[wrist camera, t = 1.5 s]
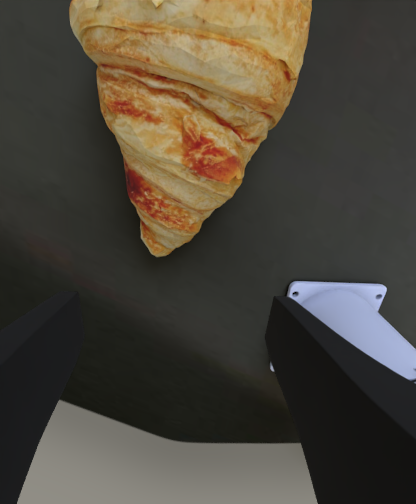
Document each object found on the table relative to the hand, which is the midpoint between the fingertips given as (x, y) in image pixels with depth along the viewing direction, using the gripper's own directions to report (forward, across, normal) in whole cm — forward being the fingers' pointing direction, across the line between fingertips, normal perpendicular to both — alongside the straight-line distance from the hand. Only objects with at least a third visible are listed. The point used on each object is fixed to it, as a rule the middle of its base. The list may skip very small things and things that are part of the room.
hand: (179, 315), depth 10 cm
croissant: (+10, 0, -9) cm, 13 cm away
